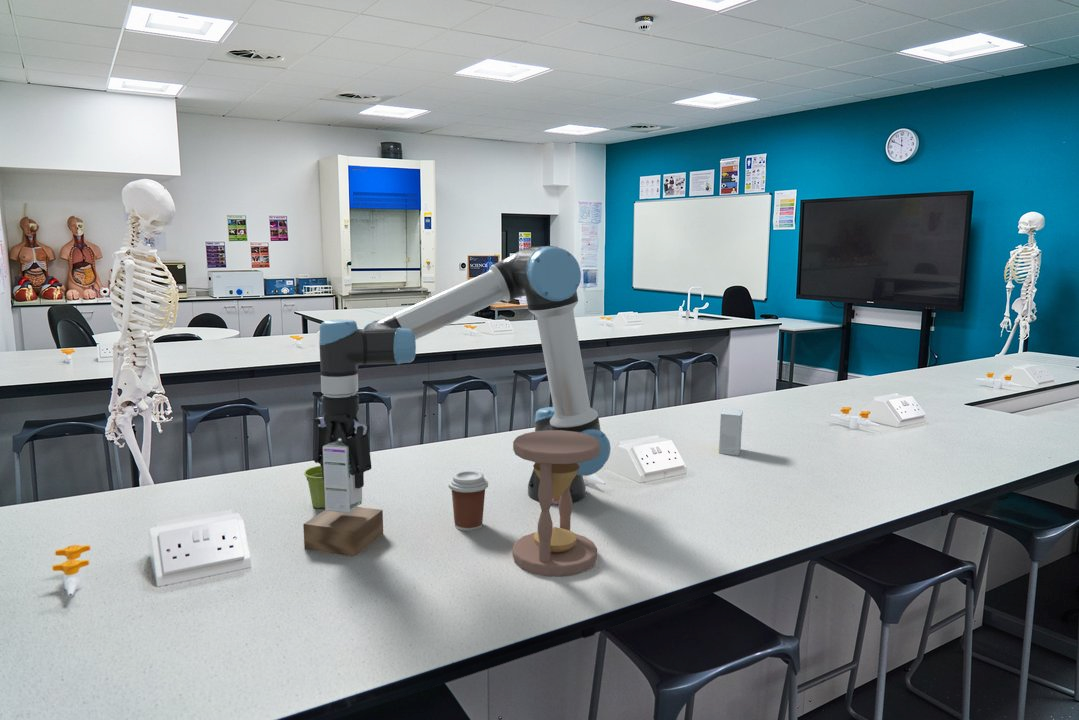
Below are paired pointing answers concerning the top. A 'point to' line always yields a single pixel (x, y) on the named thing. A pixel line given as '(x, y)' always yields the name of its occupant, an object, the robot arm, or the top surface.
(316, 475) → the plant pot
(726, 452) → the small box
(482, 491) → the coffee cup
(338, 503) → the syrup box
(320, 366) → the robot arm
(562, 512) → the hourglass
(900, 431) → the top surface
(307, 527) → the base block
